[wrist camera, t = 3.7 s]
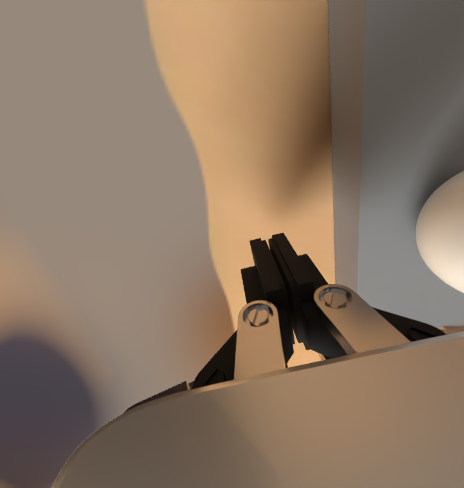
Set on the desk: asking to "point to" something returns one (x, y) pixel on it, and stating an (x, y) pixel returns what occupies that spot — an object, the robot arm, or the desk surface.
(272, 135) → the desk surface
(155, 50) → the desk surface
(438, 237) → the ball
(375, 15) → the plate
